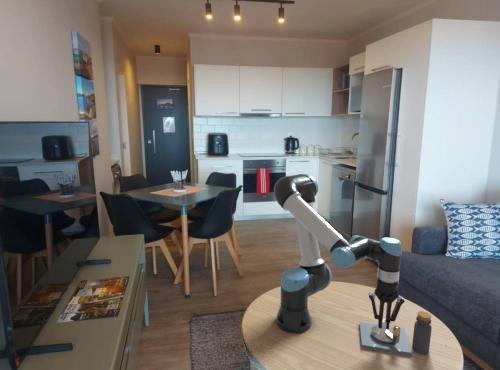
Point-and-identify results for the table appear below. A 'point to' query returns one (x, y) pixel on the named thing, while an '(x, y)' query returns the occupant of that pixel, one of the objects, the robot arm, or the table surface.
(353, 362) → the table surface
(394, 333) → the dial
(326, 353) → the table surface
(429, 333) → the bottle
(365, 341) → the board
